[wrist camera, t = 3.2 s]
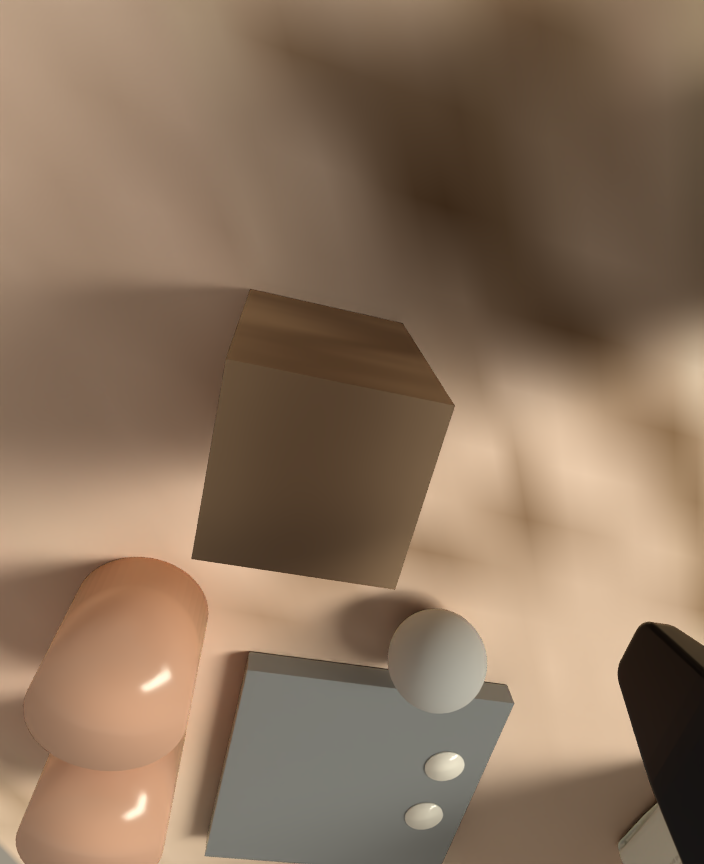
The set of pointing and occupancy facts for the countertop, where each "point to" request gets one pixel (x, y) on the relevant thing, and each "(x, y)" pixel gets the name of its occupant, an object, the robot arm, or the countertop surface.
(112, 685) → the peach rounded capsule
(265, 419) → the walnut block
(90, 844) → the peach capsule shape
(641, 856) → the skincare box
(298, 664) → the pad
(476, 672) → the grey ball
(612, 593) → the countertop surface
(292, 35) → the countertop surface
